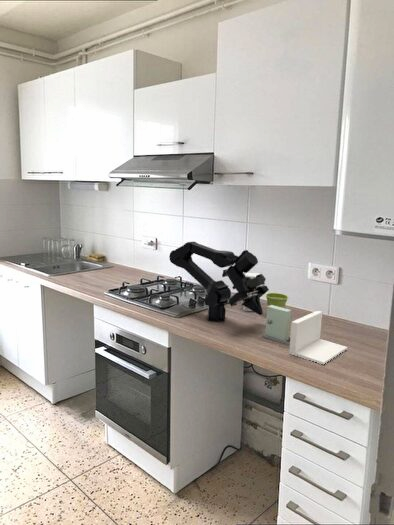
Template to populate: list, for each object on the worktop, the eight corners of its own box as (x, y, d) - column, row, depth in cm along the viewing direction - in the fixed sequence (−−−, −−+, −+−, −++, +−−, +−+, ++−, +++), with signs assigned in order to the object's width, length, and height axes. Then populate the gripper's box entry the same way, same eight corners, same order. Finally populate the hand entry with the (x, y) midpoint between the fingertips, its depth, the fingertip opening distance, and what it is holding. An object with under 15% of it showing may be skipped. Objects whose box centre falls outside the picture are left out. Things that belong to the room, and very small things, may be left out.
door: (263, 336, 150) (265, 307, 148) (269, 333, 153) (271, 304, 151) (283, 342, 145) (285, 312, 143) (288, 339, 148) (291, 310, 146)
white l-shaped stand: (251, 340, 146) (253, 310, 144) (278, 328, 159) (280, 301, 157) (323, 365, 129) (327, 331, 127) (346, 349, 142) (350, 318, 140)
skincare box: (257, 312, 179) (260, 277, 176) (242, 310, 180) (244, 275, 177) (258, 306, 187) (261, 273, 184) (243, 305, 189) (246, 271, 186)
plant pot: (282, 312, 181) (283, 292, 179) (290, 319, 172) (291, 298, 170) (261, 312, 179) (262, 292, 178) (268, 319, 170) (269, 298, 169)
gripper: (237, 270, 146) (261, 308, 141) (266, 264, 160) (289, 298, 155) (218, 288, 153) (241, 324, 148) (248, 280, 167) (269, 313, 161)
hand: (261, 314), depth 153 cm, fingers closed
